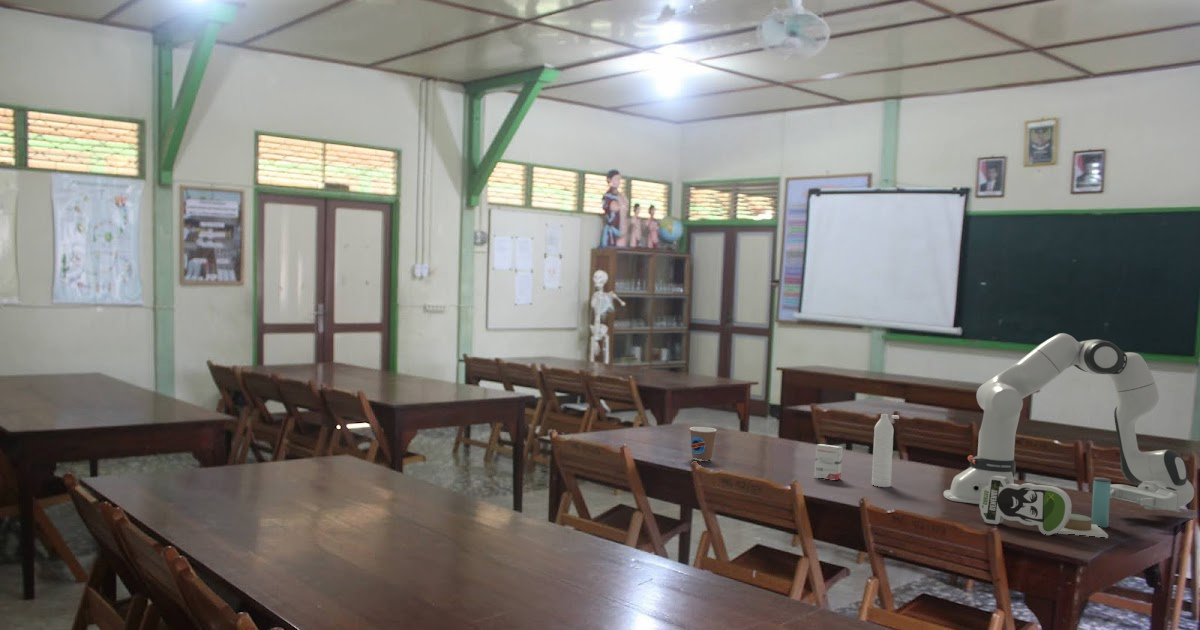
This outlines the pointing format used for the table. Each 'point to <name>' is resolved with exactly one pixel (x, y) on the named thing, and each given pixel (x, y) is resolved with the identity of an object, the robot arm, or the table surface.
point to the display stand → (1082, 527)
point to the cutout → (1025, 504)
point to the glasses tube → (1101, 501)
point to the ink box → (828, 461)
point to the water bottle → (883, 452)
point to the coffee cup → (702, 442)
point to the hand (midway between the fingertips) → (1124, 498)
